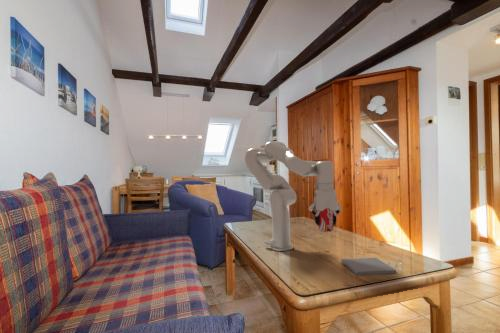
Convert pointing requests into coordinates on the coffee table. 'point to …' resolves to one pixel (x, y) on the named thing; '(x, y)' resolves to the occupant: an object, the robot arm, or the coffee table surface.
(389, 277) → the coffee table surface
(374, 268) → the slate board
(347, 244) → the coffee table surface
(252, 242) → the coffee table surface
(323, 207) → the robot arm
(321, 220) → the soda can
